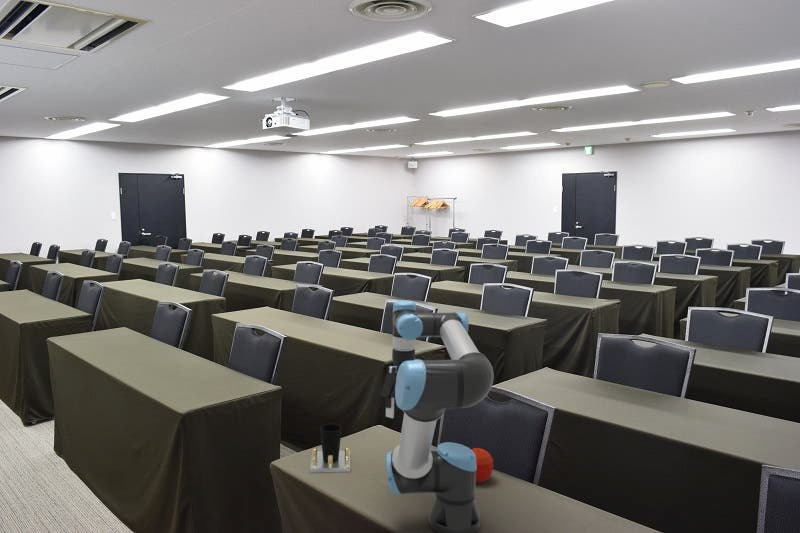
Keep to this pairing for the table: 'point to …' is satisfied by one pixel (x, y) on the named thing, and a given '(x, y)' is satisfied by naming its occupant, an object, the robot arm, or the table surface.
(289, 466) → the table surface
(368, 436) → the table surface
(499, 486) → the table surface
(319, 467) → the white board with pegs
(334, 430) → the cup
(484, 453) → the apple
